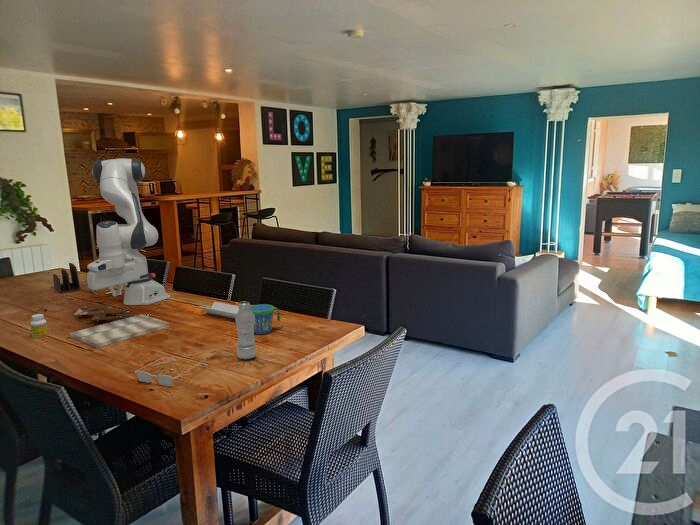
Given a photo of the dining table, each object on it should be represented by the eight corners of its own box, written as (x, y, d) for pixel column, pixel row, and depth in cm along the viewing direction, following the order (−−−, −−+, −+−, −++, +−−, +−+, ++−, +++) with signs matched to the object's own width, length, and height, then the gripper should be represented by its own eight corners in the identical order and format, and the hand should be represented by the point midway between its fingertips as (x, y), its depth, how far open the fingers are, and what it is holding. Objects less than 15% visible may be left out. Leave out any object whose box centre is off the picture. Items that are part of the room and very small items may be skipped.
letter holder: (73, 284, 288) (70, 261, 286) (80, 290, 273) (77, 265, 271) (54, 287, 282) (50, 263, 280) (60, 293, 267) (56, 268, 264)
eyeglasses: (134, 382, 155) (133, 370, 154) (173, 361, 171) (172, 350, 171) (174, 389, 150) (173, 376, 149) (210, 366, 166) (210, 355, 165)
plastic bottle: (238, 355, 174) (235, 300, 170) (258, 354, 175) (254, 299, 171) (236, 362, 168) (232, 305, 164) (256, 361, 169) (252, 304, 165)
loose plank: (154, 321, 211) (153, 318, 211) (169, 326, 204) (169, 323, 204) (81, 341, 188) (81, 337, 188) (96, 347, 181) (95, 344, 181)
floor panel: (143, 318, 219) (142, 313, 218) (175, 329, 204) (174, 323, 203) (66, 339, 194) (65, 333, 194) (96, 352, 179) (95, 346, 179)
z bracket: (215, 319, 230) (222, 308, 233) (255, 328, 217) (261, 316, 220) (199, 306, 222) (206, 294, 225) (239, 314, 208) (246, 302, 211)
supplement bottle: (32, 342, 192) (28, 318, 190) (33, 338, 196) (30, 314, 195) (48, 339, 194) (44, 316, 192) (49, 335, 199) (45, 312, 197)
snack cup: (277, 325, 207) (276, 301, 205) (284, 332, 197) (283, 308, 195) (240, 331, 200) (238, 306, 198) (245, 338, 191) (244, 313, 189)
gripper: (132, 256, 207) (136, 287, 210) (82, 266, 191) (88, 300, 194) (140, 258, 203) (145, 290, 206) (90, 268, 187) (96, 303, 191)
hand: (117, 295), depth 200 cm, fingers closed
